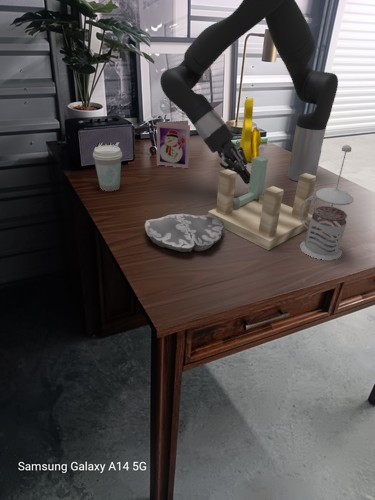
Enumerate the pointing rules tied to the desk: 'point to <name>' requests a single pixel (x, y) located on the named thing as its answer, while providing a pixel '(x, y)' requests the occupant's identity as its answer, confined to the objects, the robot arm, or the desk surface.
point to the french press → (322, 242)
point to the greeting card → (173, 143)
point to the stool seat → (264, 211)
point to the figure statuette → (249, 133)
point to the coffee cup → (108, 166)
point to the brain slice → (185, 231)
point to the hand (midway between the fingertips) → (249, 181)
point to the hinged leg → (254, 182)
